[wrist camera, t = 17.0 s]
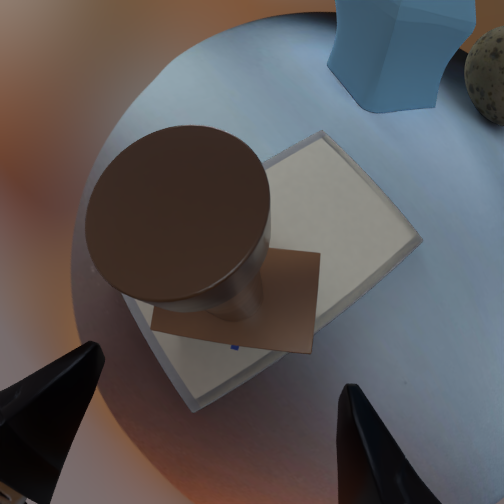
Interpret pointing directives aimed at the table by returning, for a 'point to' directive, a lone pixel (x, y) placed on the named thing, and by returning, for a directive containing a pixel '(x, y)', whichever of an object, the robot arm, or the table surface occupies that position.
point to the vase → (397, 49)
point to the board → (302, 239)
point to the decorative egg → (487, 75)
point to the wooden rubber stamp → (201, 242)
